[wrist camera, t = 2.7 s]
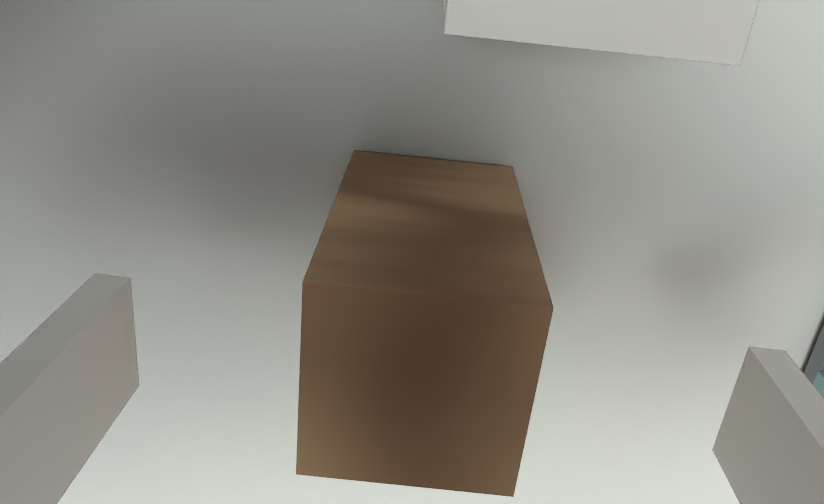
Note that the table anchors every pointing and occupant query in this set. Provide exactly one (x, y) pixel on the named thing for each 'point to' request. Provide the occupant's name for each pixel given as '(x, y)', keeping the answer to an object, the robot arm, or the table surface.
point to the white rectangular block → (613, 25)
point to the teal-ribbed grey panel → (817, 365)
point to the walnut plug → (421, 328)
